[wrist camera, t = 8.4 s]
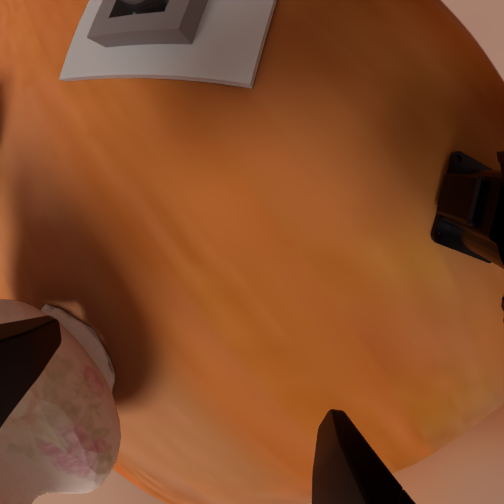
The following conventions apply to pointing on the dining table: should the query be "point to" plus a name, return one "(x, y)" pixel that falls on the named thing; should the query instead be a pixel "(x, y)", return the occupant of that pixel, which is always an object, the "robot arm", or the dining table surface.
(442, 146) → the dining table surface
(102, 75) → the grey plate with socket
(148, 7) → the pin
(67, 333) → the ceramic pitcher
